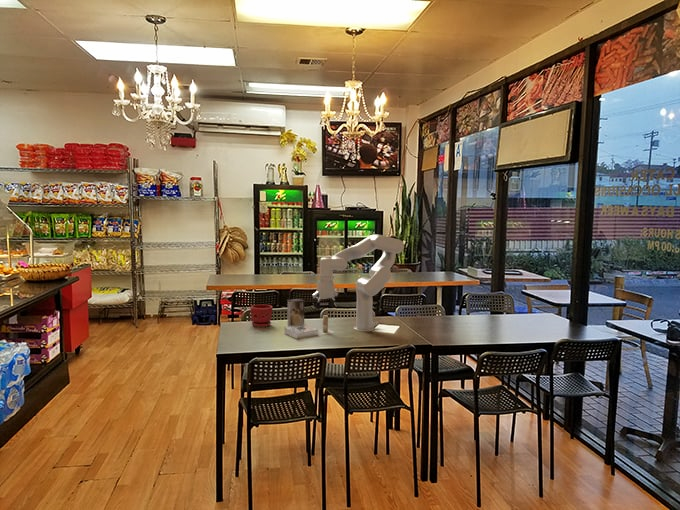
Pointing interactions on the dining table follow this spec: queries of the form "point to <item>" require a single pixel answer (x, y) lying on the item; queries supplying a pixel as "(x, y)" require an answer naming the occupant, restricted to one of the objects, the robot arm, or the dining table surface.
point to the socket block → (300, 331)
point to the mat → (325, 333)
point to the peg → (325, 323)
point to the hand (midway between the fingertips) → (324, 308)
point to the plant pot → (261, 315)
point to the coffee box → (295, 312)
